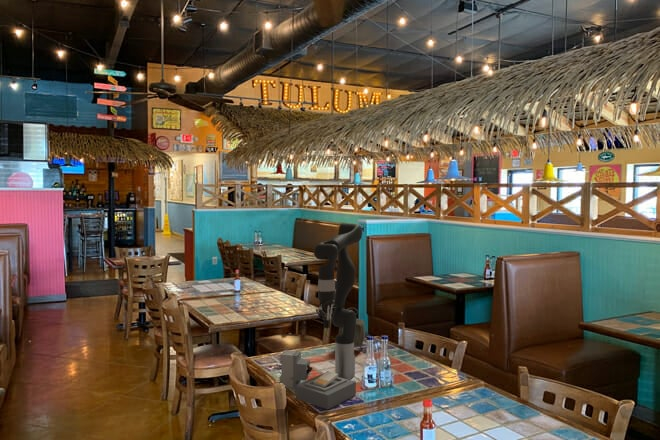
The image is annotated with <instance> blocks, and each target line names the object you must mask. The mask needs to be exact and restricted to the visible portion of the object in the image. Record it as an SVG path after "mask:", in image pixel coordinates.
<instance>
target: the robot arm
mask: <svg viewBox="0 0 660 440" xmlns="http://www.w3.org/2000/svg"><path fill="white" fill-rule="evenodd" d="M337 232H338V233H337V235H335V236H333V237H331V238H329V240H325V241H321V242H319V243H317V244H316V246H314V249H313V255H314V257H315V258H316V259H318V260H320V261H328V262H327V264H323V265H320V266H318V270H317V271H318V273H317V274H318V284H317V295H318V296H317V297H318V298H317V300H318V301H319V306H318V308H316V309H315V312H316V314H317V316H318V317H319V318H320V320H323V327H324V329H330V328H331V322H332V325H333V326H334V327H336V328H339V327H340V328H343V333H342V334H339V333H338V334H337V335H335V339H334V341H335V343H334V344H335V345H334V349H335V351H334V352H335V353H334V359H335V360H334V373H337V374H338V377H340V378H344V379H348V380H352V379H354V377H355V374H356V356H355V346H354V338H355V332H356V319H357V314H356V313H355V311H354V310H353V309H348V308H347V309H346V308H345V304H346V299H347V297H348V295H349V293H350V291H352V289H353V287H354V285H355V281H356V266H355V265H354V264H355V263H354V262H353V260H352V259H351V256H350V255H349V251H348V246H351V245H353V244H356V243H358V242H360V241H361V239H362V237H363V228H362V226H361V225H360V224H358V223H346V222H342V223H340V225H339V227H338V231H337ZM336 263H337V265H336ZM336 266H337V268H336ZM335 269H336V278H335ZM335 279H336V280H335Z"/></svg>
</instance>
